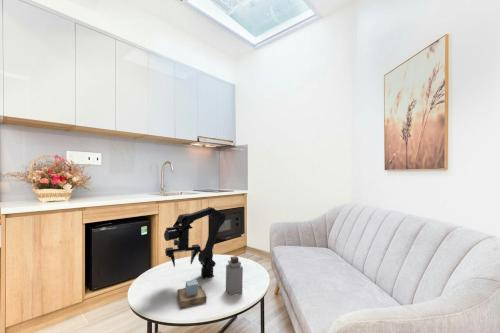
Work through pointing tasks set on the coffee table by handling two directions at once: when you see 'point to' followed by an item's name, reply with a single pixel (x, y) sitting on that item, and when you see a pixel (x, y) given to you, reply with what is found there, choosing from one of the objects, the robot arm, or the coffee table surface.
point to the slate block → (191, 287)
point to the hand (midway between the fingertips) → (182, 265)
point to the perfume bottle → (234, 276)
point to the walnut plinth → (191, 297)
